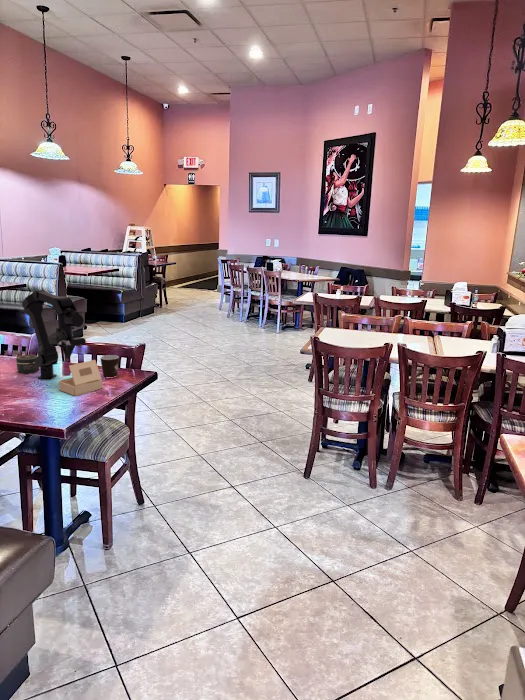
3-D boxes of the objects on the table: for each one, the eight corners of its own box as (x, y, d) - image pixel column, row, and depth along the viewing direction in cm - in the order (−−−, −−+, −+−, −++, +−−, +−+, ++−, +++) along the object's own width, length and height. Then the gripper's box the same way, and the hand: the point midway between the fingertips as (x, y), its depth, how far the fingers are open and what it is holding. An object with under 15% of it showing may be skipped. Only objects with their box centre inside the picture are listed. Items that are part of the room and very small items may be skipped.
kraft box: (58, 390, 224) (57, 381, 223) (86, 382, 236) (86, 374, 235) (74, 396, 217) (74, 387, 216) (103, 388, 229) (103, 379, 228)
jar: (16, 369, 251) (15, 355, 249) (38, 368, 256) (37, 353, 254) (17, 375, 242) (16, 360, 240) (40, 373, 247) (39, 358, 245)
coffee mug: (108, 380, 240) (107, 360, 238) (97, 376, 245) (96, 357, 243) (128, 375, 249) (127, 356, 247) (117, 372, 254) (116, 353, 252)
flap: (75, 385, 217) (68, 365, 217) (100, 378, 227) (94, 359, 227) (75, 385, 216) (69, 365, 216) (101, 378, 227) (95, 359, 227)
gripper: (35, 326, 222) (39, 360, 225) (65, 329, 214) (68, 364, 217) (55, 323, 232) (59, 355, 235) (85, 325, 223) (88, 359, 227)
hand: (68, 358), depth 228 cm, fingers closed
